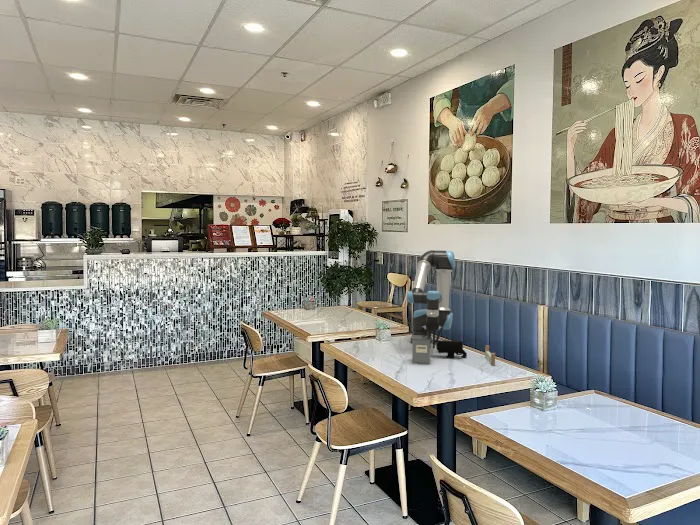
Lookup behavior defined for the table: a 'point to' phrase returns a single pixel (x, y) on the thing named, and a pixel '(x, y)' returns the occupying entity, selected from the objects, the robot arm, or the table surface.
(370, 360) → the table surface
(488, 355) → the backstop
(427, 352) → the box
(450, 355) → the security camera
